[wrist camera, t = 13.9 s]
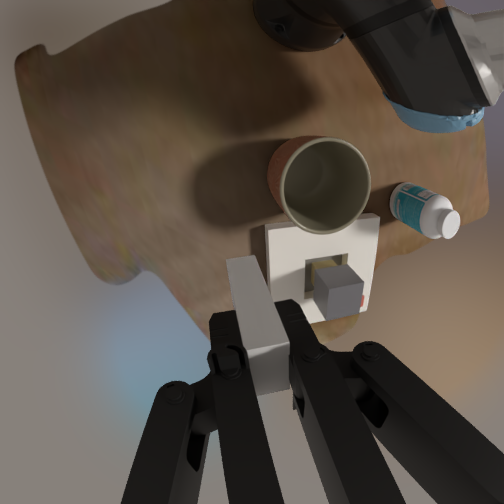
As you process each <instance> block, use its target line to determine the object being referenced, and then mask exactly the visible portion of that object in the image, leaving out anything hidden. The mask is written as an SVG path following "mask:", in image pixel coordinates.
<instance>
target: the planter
mask: <svg viewBox="0 0 504 504" xmlns="http://www.w3.org/2000/svg"><path fill="white" fill-rule="evenodd" d="M267 180H268V186H269V189H270V191H271V193H272V195H273V197H274V199H275V201H276V202H277V204H278V205H279V206H280V208H281V209H282V210H283V211H284V213H285V214H286V215H287V217H288V218H289V219H290V220H291V221H292V223H293V224H295V225H296V226H297V227H299V228H300V229H302V230H304V231H306V232H309V233H312V234H318V235H326V234H332V233H336V232H338V231H341V230H343V229H345V228H346V227H348V226H349V225H350V224H352V223H353V222H354V221H355V220H356V219H357V218H358V217H359V216H360V214H361V213H362V211H363V210H364V208H365V206H366V204H367V201H368V198H369V195H370V189H371V176H370V171H369V167H368V164H367V162H366V160H365V158H364V157H363V155H362V154H361V152H360V151H359V150H358V149H357V148H356V147H355V146H353V145H352V144H351V143H349V142H347V141H345V140H343V139H340V138H335V137H326V136H301V137H296V138H293V139H290V140H288V141H286V142H285V143H283V144H282V145H281V146H280V147H279V148H278V149H277V150H276V151H275V152H274V154H273V155H272V157H271V159H270V162H269V165H268V169H267Z"/></svg>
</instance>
